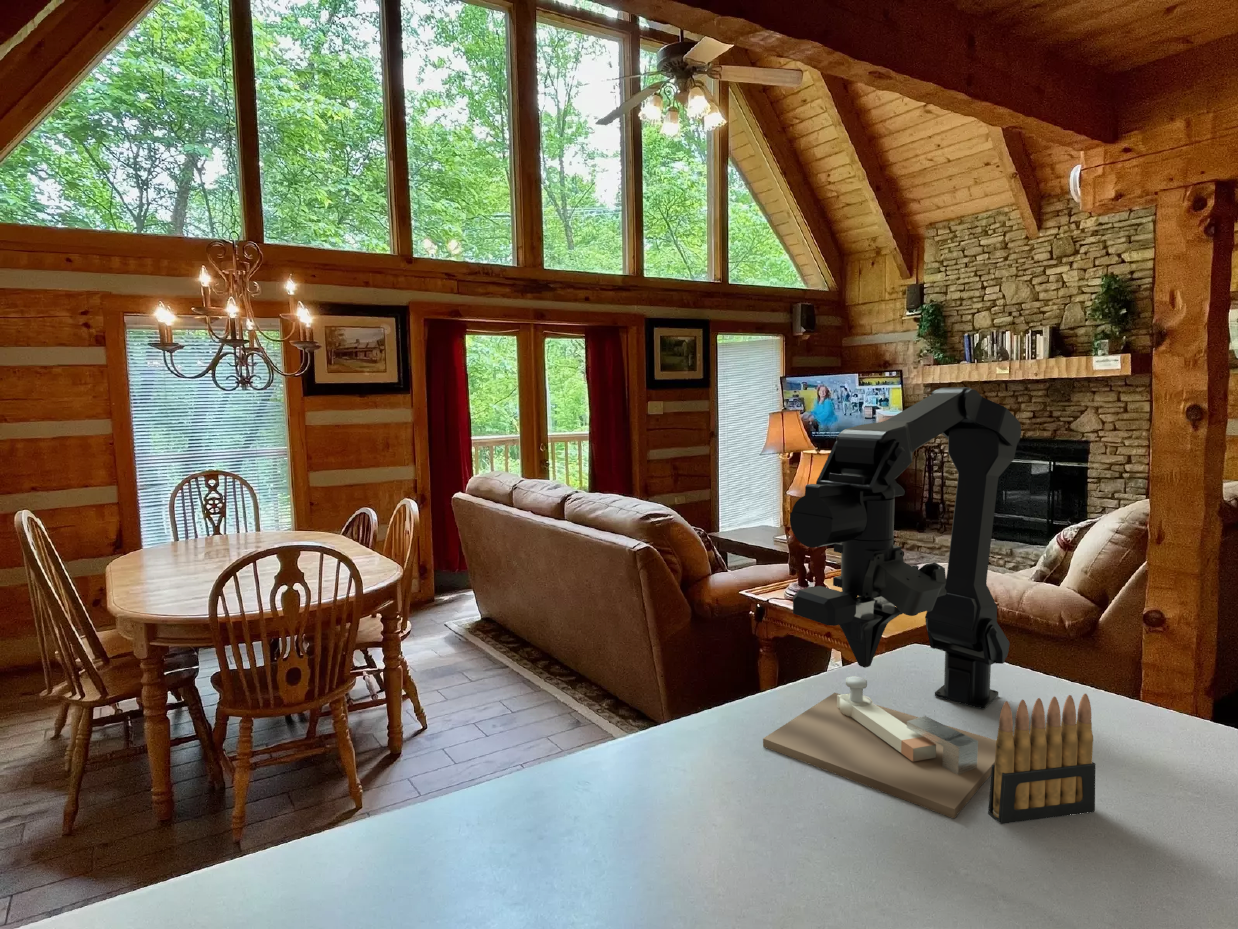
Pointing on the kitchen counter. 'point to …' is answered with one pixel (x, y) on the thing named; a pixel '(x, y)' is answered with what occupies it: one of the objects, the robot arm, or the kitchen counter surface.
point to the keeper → (948, 744)
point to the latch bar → (883, 722)
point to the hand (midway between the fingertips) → (864, 666)
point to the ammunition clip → (1043, 763)
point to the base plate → (880, 758)
